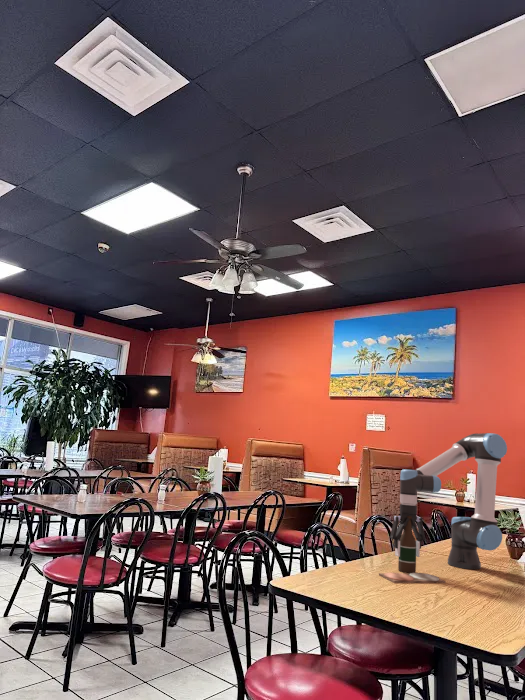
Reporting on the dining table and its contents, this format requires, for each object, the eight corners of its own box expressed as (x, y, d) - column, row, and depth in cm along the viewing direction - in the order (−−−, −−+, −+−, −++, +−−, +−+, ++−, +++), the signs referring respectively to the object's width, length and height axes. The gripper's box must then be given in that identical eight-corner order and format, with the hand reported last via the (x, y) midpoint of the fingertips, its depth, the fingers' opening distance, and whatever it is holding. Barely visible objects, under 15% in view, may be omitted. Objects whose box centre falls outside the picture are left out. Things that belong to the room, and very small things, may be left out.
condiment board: (428, 575, 220) (428, 572, 221) (445, 583, 209) (445, 580, 209) (378, 575, 214) (378, 572, 214) (393, 582, 203) (393, 579, 203)
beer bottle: (418, 574, 222) (419, 517, 226) (400, 573, 222) (401, 516, 226) (413, 570, 229) (414, 515, 234) (396, 569, 229) (397, 513, 234)
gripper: (424, 504, 238) (423, 554, 233) (382, 502, 232) (381, 553, 227) (434, 506, 230) (433, 558, 226) (391, 504, 225) (389, 557, 220)
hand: (407, 556), depth 227 cm, fingers open, 9 cm apart
